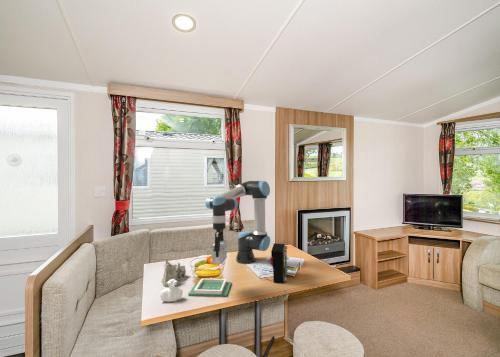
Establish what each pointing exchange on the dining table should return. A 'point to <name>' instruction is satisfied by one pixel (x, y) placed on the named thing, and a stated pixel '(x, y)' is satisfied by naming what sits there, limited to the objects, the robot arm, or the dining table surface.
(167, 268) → the ceramic cottage
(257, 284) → the dining table surface
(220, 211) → the robot arm
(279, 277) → the electrical component
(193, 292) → the board
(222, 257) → the light bulb box
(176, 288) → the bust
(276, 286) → the dining table surface
